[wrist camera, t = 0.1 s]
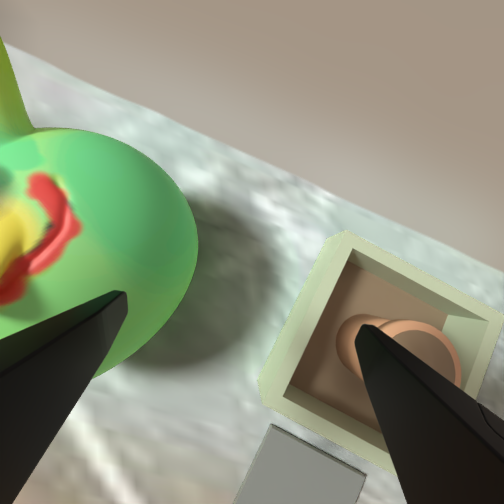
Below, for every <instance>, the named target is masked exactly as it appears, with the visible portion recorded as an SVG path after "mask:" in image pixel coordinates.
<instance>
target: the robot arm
mask: <svg viewBox="0 0 504 504" xmlns="http://www.w3.org/2000/svg"><path fill="white" fill-rule="evenodd" d="M127 314H128V301H127V293H126V292H125V291H119V290H113V291H110V292H108V293H106V294H103V295H101V296H99V297H97V298H94V299H92V300H90V301H87V302H85V303H83V304H80V305H78V306H76V307H74V308H71V309H69V310H67V311H64V312H62V313H60V314H57V315H55V316H53V317H51V318H48V319H46V320H44V321H41V322H39V323H37V324H34V325H32V326H30V327H27V328H25V329H23V330H21V331H18V332H16V333H14V334H11V335H9V336H7V337H4V338H2V339H0V504H12V503H13V502H14V500H15V499H16V497H17V495H18V494H19V492H20V491H21V489H22V488H23V486H24V484H25V483H26V481H27V480H28V478H29V477H30V475H31V474H32V472H33V470H34V469H35V467H36V466H37V464H38V463H39V461H40V459H41V458H42V456H43V455H44V453H45V452H46V450H47V448H48V447H49V445H50V444H51V442H52V441H53V439H54V437H55V436H56V434H57V433H58V431H59V430H60V428H61V426H62V425H63V423H64V422H65V420H66V419H67V417H68V415H69V414H70V412H71V411H72V409H73V408H74V406H75V404H76V403H77V401H78V400H79V398H80V397H81V395H82V393H83V392H84V390H85V389H86V387H87V386H88V384H89V382H90V381H91V379H92V378H93V376H94V375H95V373H96V371H97V370H98V368H99V367H100V365H101V364H102V362H103V360H104V359H105V357H106V356H107V354H108V352H109V350H110V348H111V346H112V344H113V342H114V340H115V338H116V336H117V334H118V332H119V330H120V328H121V326H122V324H123V322H124V320H125V318H126V316H127ZM354 344H355V349H356V353H357V357H358V361H359V365H360V369H361V373H362V377H363V380H364V384H365V387H366V390H367V393H368V396H369V398H370V401H371V404H372V407H373V409H374V412H375V415H376V418H377V421H378V423H379V426H380V429H381V432H382V435H383V437H384V440H385V443H386V446H387V449H388V451H389V454H390V457H391V460H392V462H393V465H394V468H395V471H396V474H397V476H398V479H399V482H400V485H401V488H402V490H403V493H404V496H405V499H406V502H407V504H504V421H503V420H502V419H501V418H499V417H498V416H496V415H495V414H494V413H492V412H491V411H490V410H488V409H487V408H486V407H484V406H483V405H482V404H480V403H477V401H476V400H475V399H473V398H472V397H471V396H469V395H468V394H467V393H465V392H464V391H463V390H461V389H460V388H458V387H457V386H456V385H454V384H453V383H452V382H450V381H449V380H448V379H446V378H445V377H444V376H442V375H441V374H440V373H438V372H437V371H436V370H434V369H433V368H431V367H430V366H429V365H427V364H426V363H425V362H423V361H422V360H421V359H419V358H418V357H417V356H415V355H414V354H413V353H411V352H410V351H409V350H407V349H406V348H404V347H403V346H402V345H400V344H399V343H398V342H396V341H395V340H394V339H392V338H391V337H390V336H388V335H387V334H386V333H384V332H383V331H382V330H380V329H379V328H377V327H376V326H375V325H371V324H362V325H361V327H360V329H359V331H358V333H357V335H356V337H355V341H354Z"/></svg>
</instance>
